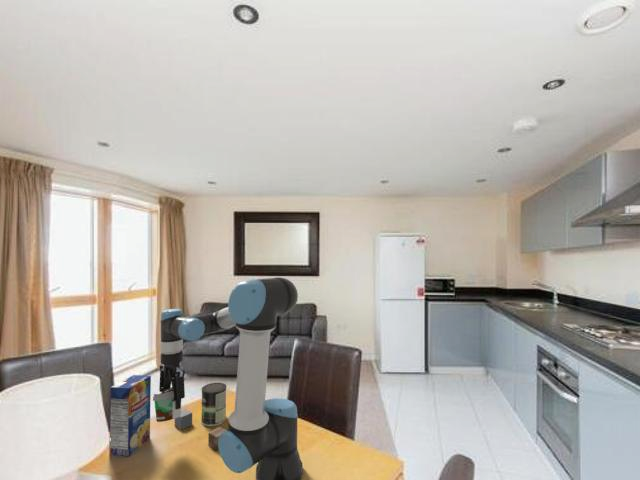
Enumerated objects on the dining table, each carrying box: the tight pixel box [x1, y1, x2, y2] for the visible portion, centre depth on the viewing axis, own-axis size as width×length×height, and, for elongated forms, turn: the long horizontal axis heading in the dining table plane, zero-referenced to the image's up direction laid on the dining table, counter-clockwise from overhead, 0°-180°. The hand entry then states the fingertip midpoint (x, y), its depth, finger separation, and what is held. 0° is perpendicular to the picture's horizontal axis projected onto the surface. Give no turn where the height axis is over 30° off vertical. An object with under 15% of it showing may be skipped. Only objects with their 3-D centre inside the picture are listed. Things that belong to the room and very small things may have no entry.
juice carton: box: [108, 374, 152, 458], centre depth 122 cm, size 12×8×24 cm, turn 172°
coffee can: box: [200, 382, 227, 427], centre depth 141 cm, size 10×10×14 cm
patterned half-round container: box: [152, 386, 174, 423], centre depth 120 cm, size 12×6×10 cm, turn 163°
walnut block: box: [208, 426, 226, 451], centre depth 122 cm, size 5×5×5 cm
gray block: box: [174, 409, 193, 430], centre depth 137 cm, size 5×5×5 cm
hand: (171, 414), depth 120 cm, fingers closed on patterned half-round container, 6 cm apart
